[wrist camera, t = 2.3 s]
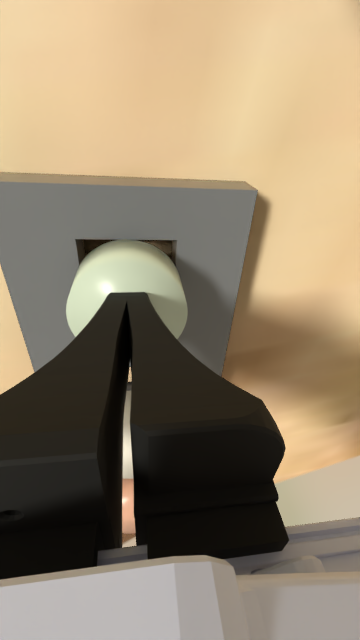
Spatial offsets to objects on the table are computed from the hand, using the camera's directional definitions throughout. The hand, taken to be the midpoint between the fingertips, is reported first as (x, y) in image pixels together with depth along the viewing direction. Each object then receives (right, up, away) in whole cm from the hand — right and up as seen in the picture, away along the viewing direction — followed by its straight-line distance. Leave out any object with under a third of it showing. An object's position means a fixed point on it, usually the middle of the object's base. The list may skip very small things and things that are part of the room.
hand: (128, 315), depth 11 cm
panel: (-1, -3, +7) cm, 8 cm away
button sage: (0, +2, +3) cm, 3 cm away
